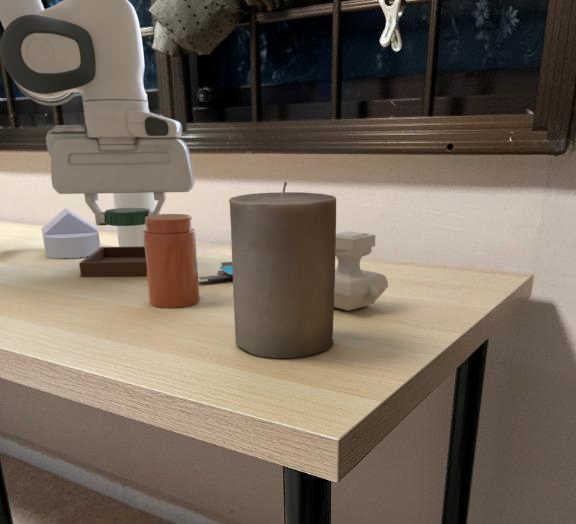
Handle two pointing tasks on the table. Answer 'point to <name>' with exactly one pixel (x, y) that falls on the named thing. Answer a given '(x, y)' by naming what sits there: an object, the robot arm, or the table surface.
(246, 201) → the pillar candle
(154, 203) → the cylindrical container
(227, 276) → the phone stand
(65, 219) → the wedge on round base
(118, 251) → the tray
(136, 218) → the jar lid
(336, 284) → the stamp
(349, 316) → the table surface
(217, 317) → the table surface
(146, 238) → the jar
